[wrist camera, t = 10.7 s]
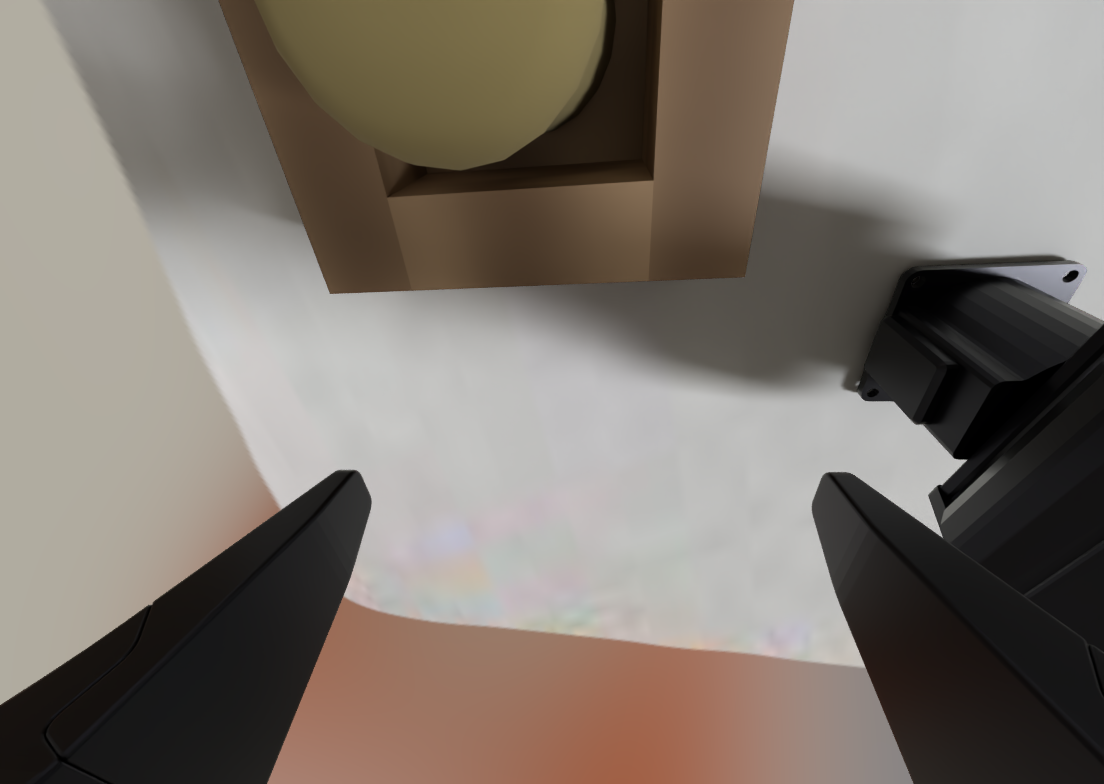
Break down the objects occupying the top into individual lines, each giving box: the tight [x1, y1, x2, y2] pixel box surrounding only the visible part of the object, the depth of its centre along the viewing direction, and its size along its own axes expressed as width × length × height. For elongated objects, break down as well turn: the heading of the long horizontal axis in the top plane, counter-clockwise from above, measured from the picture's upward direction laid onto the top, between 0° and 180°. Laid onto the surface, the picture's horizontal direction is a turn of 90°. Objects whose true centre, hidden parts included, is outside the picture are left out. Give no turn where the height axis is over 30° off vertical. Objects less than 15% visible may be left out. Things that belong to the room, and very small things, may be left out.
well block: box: [219, 0, 794, 294], centre depth 13 cm, size 14×14×5 cm
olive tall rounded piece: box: [254, 0, 616, 171], centre depth 10 cm, size 6×6×11 cm
